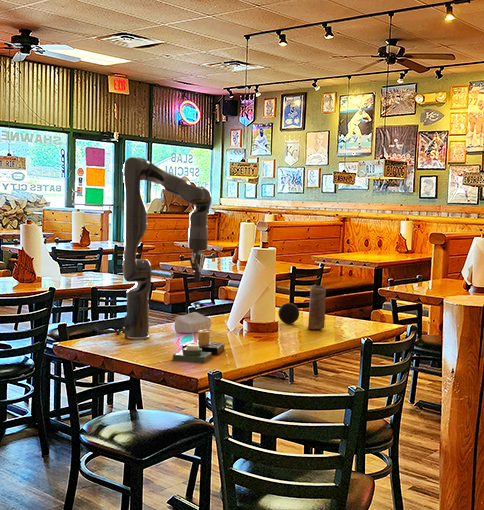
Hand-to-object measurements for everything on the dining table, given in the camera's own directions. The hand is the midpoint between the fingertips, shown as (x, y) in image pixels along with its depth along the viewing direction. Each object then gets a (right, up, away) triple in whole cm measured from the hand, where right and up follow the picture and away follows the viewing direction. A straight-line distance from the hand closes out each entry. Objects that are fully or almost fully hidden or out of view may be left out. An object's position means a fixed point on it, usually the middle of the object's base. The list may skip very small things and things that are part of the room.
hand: (197, 280), depth 278 cm
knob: (+3, -24, -9) cm, 26 cm away
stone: (-4, -24, +35) cm, 42 cm away
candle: (+53, -24, +43) cm, 73 cm away
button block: (-1, -28, -22) cm, 36 cm away
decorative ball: (+41, -23, +58) cm, 75 cm away
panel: (+3, -27, -8) cm, 29 cm away
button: (-1, -25, -22) cm, 33 cm away
